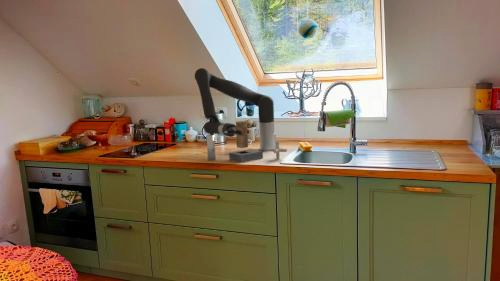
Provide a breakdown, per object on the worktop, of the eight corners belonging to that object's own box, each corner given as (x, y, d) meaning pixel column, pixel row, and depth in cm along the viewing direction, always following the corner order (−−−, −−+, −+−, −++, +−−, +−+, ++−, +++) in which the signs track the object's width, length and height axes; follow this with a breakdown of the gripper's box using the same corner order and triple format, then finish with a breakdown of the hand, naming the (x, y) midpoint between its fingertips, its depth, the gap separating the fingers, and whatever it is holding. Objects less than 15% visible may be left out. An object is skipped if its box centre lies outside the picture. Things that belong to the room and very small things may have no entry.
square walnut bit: (243, 146, 214) (242, 121, 212) (247, 147, 210) (247, 121, 208) (236, 147, 211) (235, 121, 209) (241, 148, 208) (240, 122, 206)
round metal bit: (213, 158, 217) (211, 134, 215) (217, 160, 213) (216, 135, 211) (206, 160, 214) (205, 135, 212) (210, 161, 211) (209, 136, 209)
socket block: (251, 155, 222) (250, 148, 221) (262, 158, 213) (262, 151, 213) (229, 159, 213) (229, 152, 212) (241, 162, 204) (240, 155, 204)
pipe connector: (289, 157, 213) (288, 139, 211) (284, 161, 203) (283, 142, 202) (272, 156, 216) (271, 139, 215) (266, 160, 207) (265, 142, 206)
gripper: (216, 124, 216) (233, 126, 202) (237, 121, 224) (255, 124, 211) (217, 137, 217) (234, 140, 204) (237, 134, 226) (255, 137, 212)
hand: (244, 132), depth 207 cm, fingers closed on square walnut bit, 4 cm apart
